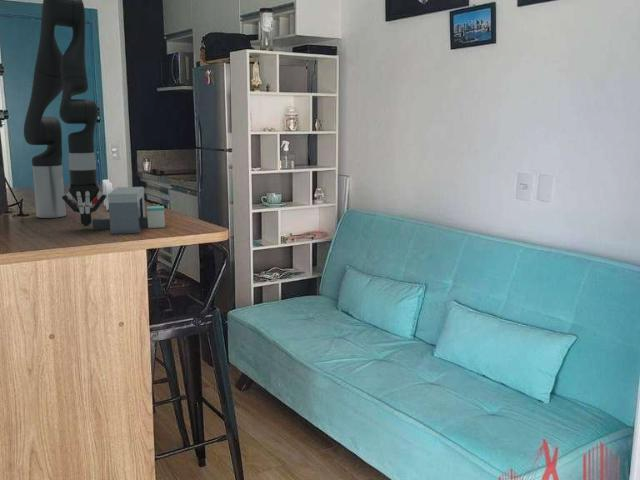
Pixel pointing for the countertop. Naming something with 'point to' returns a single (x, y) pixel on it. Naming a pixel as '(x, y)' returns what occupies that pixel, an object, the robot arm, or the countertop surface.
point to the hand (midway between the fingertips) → (86, 225)
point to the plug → (150, 221)
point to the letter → (107, 191)
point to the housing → (126, 209)
